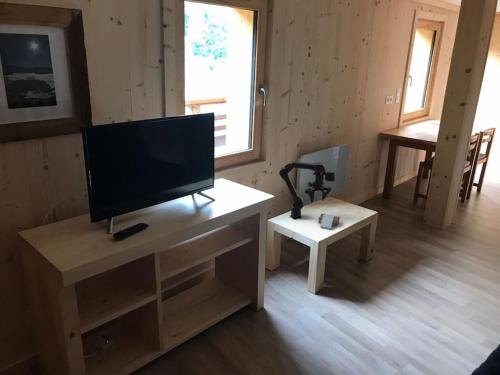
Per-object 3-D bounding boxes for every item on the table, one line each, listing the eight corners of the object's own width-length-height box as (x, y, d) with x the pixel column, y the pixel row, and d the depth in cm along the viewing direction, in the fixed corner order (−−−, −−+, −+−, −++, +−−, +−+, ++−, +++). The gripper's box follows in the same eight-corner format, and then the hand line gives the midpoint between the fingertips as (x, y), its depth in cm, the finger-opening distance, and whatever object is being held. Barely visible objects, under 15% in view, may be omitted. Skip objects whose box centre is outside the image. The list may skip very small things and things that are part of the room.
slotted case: (318, 223, 287) (318, 217, 285) (321, 219, 294) (321, 213, 292) (336, 226, 282) (337, 220, 280) (339, 222, 289) (339, 216, 287)
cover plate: (320, 226, 279) (323, 213, 284) (320, 227, 280) (324, 215, 285) (330, 228, 276) (333, 215, 281) (330, 229, 278) (334, 217, 283)
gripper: (322, 175, 295) (321, 196, 301) (301, 179, 287) (299, 199, 293) (332, 180, 286) (330, 201, 292) (310, 183, 278) (308, 205, 283)
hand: (317, 201), depth 290 cm, fingers open, 9 cm apart
